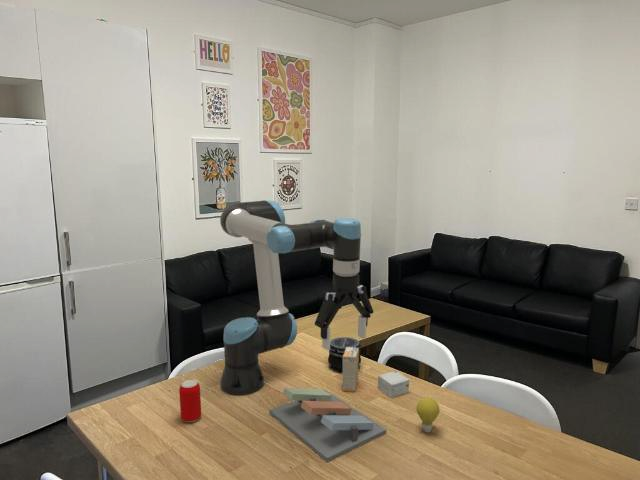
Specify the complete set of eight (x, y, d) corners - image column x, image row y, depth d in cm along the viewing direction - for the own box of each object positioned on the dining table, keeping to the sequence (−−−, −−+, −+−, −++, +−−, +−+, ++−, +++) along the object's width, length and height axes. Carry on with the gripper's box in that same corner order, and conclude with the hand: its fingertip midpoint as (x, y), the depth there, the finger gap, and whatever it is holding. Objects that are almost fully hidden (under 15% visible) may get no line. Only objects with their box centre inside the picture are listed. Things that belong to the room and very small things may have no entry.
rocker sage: (281, 394, 151) (283, 387, 151) (319, 396, 161) (321, 389, 161) (291, 402, 146) (293, 394, 146) (330, 403, 156) (332, 395, 156)
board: (269, 413, 152) (269, 398, 151) (324, 392, 165) (324, 378, 164) (327, 462, 128) (327, 444, 127) (386, 433, 141) (386, 417, 140)
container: (324, 361, 189) (324, 337, 187) (355, 358, 192) (355, 334, 190) (332, 376, 177) (332, 350, 175) (365, 372, 180) (366, 347, 178)
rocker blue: (319, 423, 135) (322, 414, 135) (359, 423, 145) (361, 415, 145) (331, 432, 131) (334, 423, 131) (372, 431, 140) (374, 423, 140)
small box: (391, 398, 161) (391, 384, 160) (377, 388, 168) (377, 375, 167) (409, 392, 165) (409, 379, 164) (394, 383, 171) (395, 370, 170)
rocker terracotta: (299, 408, 143) (301, 400, 143) (338, 409, 153) (340, 401, 153) (310, 416, 138) (312, 408, 138) (350, 416, 148) (352, 408, 148)
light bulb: (439, 425, 145) (441, 395, 143) (437, 438, 139) (438, 406, 137) (417, 421, 147) (418, 391, 145) (414, 433, 141) (415, 402, 139)
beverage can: (205, 416, 150) (203, 380, 148) (192, 426, 145) (190, 389, 143) (190, 411, 153) (188, 376, 151) (176, 421, 147) (174, 385, 145)
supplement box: (355, 392, 164) (356, 357, 162) (342, 391, 165) (342, 356, 163) (358, 381, 172) (359, 347, 170) (345, 380, 173) (345, 346, 171)
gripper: (319, 283, 126) (318, 358, 130) (387, 269, 140) (384, 336, 145) (302, 276, 132) (302, 348, 136) (369, 263, 146) (367, 329, 151)
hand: (344, 342), depth 140 cm, fingers open, 13 cm apart
